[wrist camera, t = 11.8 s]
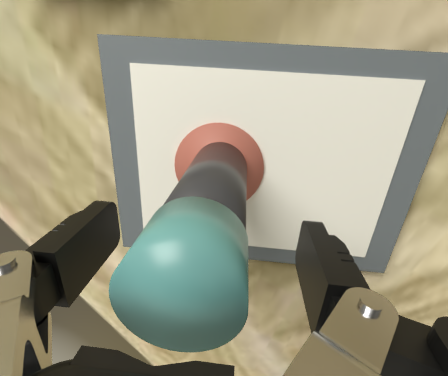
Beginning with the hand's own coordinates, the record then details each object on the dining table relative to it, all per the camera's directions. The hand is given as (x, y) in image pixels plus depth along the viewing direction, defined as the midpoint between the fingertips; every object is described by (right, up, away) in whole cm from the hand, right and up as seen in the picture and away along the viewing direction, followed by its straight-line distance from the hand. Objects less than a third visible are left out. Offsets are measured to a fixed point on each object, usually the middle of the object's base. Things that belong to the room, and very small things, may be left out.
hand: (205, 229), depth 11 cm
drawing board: (+4, +3, +8) cm, 10 cm away
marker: (+1, +3, +7) cm, 8 cm away
